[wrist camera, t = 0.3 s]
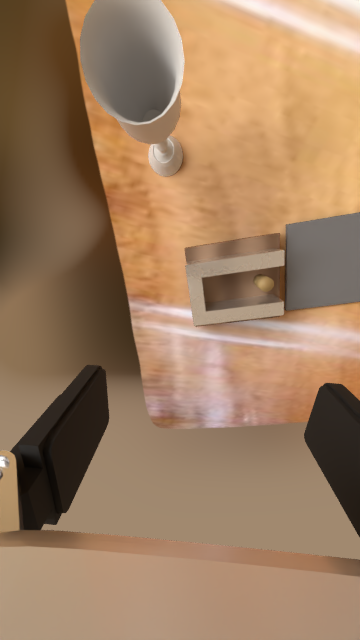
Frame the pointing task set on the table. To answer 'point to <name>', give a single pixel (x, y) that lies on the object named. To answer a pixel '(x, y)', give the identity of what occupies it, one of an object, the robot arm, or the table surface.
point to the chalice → (137, 72)
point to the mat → (323, 262)
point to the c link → (234, 307)
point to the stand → (238, 282)
